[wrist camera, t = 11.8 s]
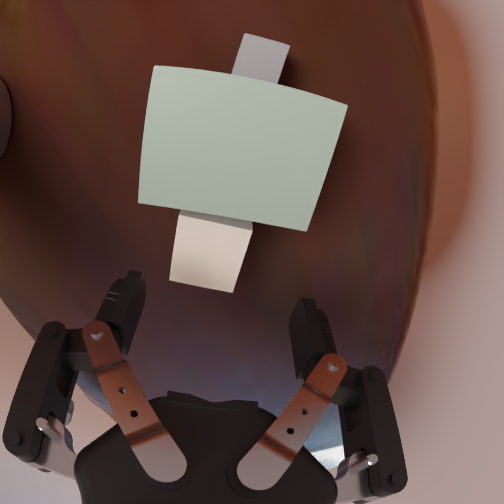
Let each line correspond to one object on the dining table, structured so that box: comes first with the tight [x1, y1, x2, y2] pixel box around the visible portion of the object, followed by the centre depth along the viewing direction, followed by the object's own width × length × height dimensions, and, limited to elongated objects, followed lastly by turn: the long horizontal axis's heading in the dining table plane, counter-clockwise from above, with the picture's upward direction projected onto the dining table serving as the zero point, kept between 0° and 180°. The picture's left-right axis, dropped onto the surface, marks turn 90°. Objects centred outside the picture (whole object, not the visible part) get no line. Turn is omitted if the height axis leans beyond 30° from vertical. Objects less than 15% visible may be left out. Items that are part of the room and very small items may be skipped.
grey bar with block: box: [169, 33, 290, 293], centre depth 17 cm, size 17×4×5 cm, turn 164°
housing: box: [138, 66, 348, 231], centre depth 15 cm, size 7×9×6 cm
